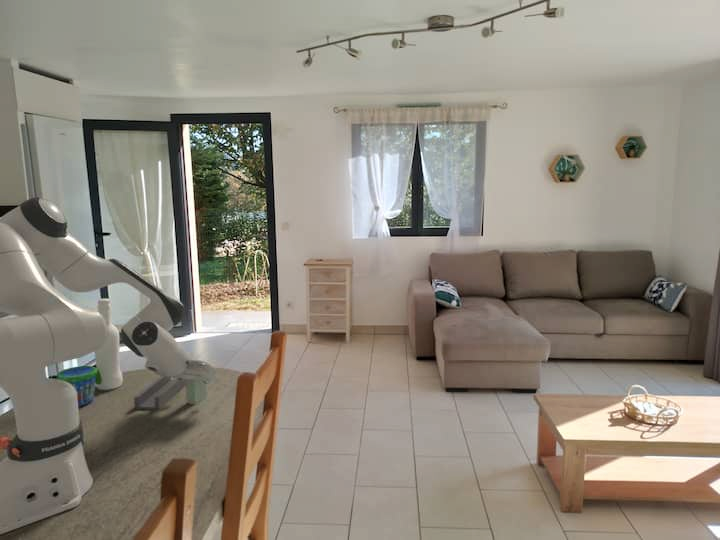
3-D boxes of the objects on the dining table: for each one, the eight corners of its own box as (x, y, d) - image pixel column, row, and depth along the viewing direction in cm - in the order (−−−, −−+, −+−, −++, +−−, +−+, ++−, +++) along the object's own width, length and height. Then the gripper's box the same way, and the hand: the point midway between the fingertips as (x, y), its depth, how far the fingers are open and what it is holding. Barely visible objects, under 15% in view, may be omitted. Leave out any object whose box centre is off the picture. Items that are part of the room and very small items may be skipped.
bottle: (98, 383, 164) (92, 297, 159) (124, 380, 166) (119, 296, 162) (93, 392, 156) (86, 302, 152) (120, 389, 158) (114, 300, 154)
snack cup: (90, 390, 157) (88, 361, 156) (113, 396, 153) (111, 365, 151) (43, 409, 143) (40, 377, 141) (67, 415, 139) (64, 382, 137)
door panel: (195, 404, 147) (193, 373, 146) (186, 403, 148) (185, 372, 146) (206, 397, 153) (205, 367, 151) (198, 395, 154) (197, 366, 152)
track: (159, 409, 143) (158, 397, 143) (135, 409, 143) (134, 397, 143) (188, 382, 165) (188, 371, 164) (167, 381, 165) (167, 371, 165)
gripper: (208, 353, 138) (228, 374, 149) (149, 347, 143) (172, 367, 154) (200, 373, 134) (220, 393, 145) (139, 366, 140) (163, 386, 151)
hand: (195, 380), depth 150 cm, fingers open, 8 cm apart
